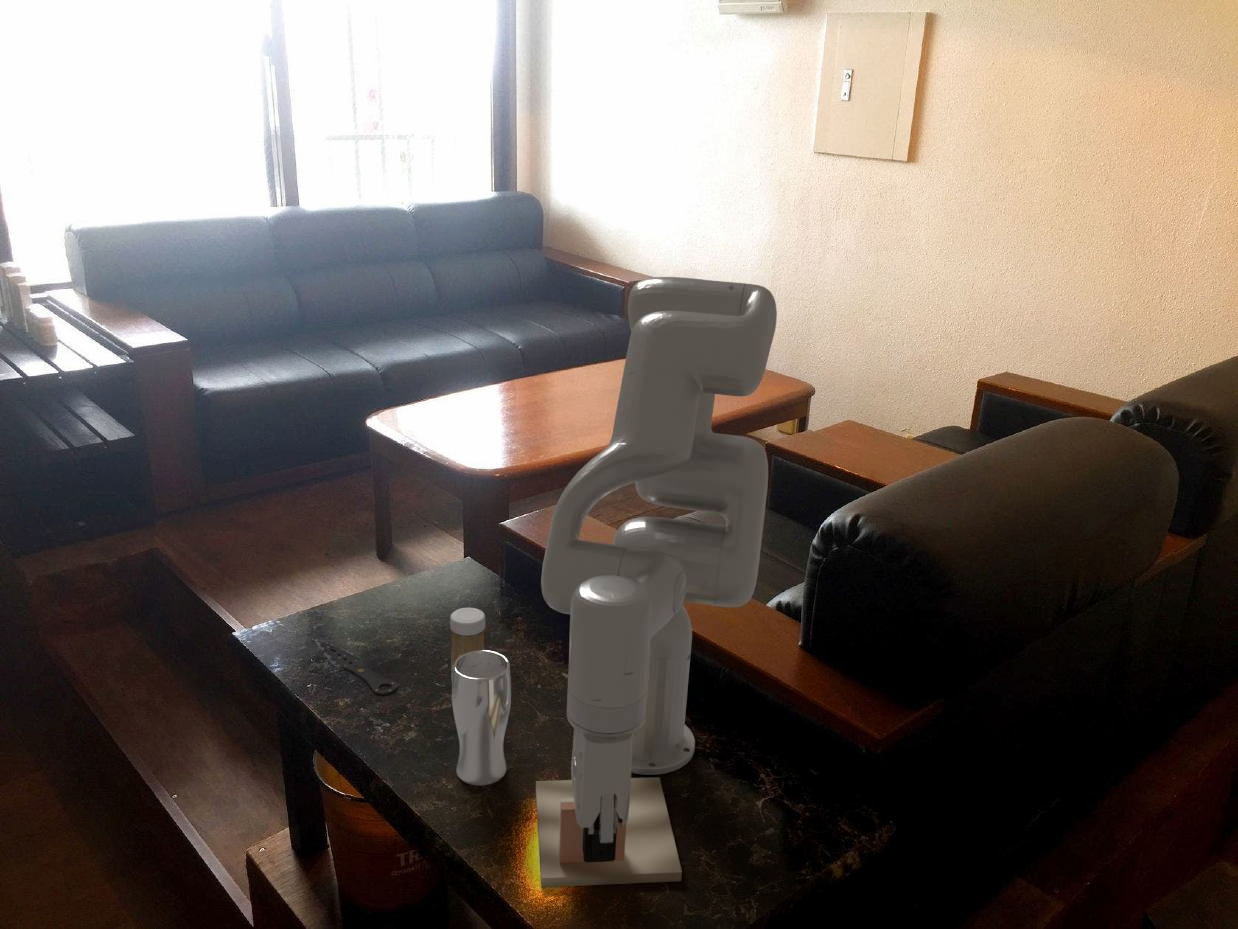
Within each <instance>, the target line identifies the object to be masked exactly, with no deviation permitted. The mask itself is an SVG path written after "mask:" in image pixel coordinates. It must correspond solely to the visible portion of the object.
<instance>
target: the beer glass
mask: <svg viewBox="0 0 1238 929" xmlns="http://www.w3.org/2000/svg"><path fill="white" fill-rule="evenodd" d="M510 666H511V663H510V661H509V659H508V658H507V657H506V656H505V655H504V654H501V653H500V652H497V651H493V650H486V649H484V650H479V651H472V652H468V653H465V654H463V655H461V656H460V657H459V658H457V659H456V661H455V663H454V674H453V685H452V684H451V697H452V702H451V703H453V704H452V711H453V717H454V723H455V727H456V731H457V736H458V741H459V742H458V743H459V754H458V760H457V764H456V770H455V772H456V775H457V777H458V778H459V779H460V780H461V781H462V782H463V783H465V784H468V785H472V786H479V787H480V786H481V787H482V786H489V785H492V784H495V783H496V782H498V781H500V780H502V778H504V777H505V774H506V772H507V763H506V758H505V754H504V752H505V751H504V740H505V734H506V732H507V731H506V730H507V725H508V720H509V718H510V717H509V716H510V712H511V711H510V710H511V703H512V701H511V700H512V699H511V698H512V683H511V682H512V680H511V672H510V671H511V668H510Z"/></svg>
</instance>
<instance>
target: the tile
mask: <svg viewBox="0 0 1238 929" xmlns="http://www.w3.org/2000/svg"><path fill="white" fill-rule="evenodd" d="M616 827H617V836H616V853H615V860H614V861H624V853H625V838H626V823H625V825H623V826H621V824H619V822H618V816H617V824H616ZM582 846H583V828H581V827H580V826H579V825H578V823H577V820H576V814H575V806H574V798H561V799H560V821H559V849H558V853H559V863H576V862H585V861H584V858H583V850H582Z"/></svg>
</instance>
